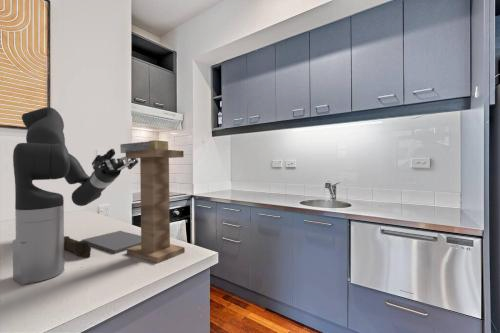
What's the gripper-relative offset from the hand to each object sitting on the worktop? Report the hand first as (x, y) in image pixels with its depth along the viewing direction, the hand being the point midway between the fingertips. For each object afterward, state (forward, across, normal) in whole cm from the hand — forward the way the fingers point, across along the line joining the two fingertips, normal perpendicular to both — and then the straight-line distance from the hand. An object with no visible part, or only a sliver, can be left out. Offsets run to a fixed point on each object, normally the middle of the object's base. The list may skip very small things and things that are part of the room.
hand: (125, 151), depth 84 cm
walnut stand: (-3, 0, +36) cm, 36 cm away
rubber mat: (-21, 0, +25) cm, 33 cm away
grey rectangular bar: (+8, 0, +5) cm, 9 cm away
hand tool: (-23, -12, +25) cm, 36 cm away
